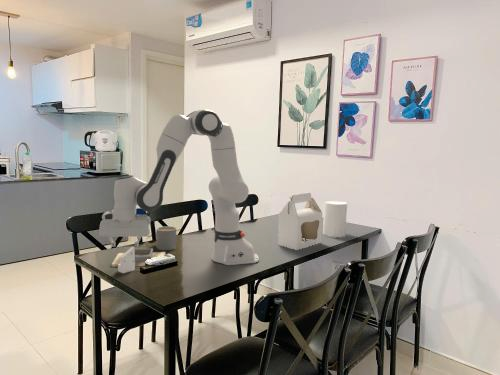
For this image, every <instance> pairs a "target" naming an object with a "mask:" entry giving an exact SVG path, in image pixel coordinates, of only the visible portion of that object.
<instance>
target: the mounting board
mask: <svg viewBox="0 0 500 375" xmlns="http://www.w3.org/2000/svg"><path fill="white" fill-rule="evenodd" d="M124 253H125V252H118V253H117V254H116V256H115V258H114V259H113V261H112V263H111V267H112V268H116V267H117V268H118V264H120V257H121V256H122V255H123V254H124ZM162 255H165V256H166V251H155V252H154V251H153V255H152V258H153V257H158V256H162ZM135 256H149V254H137V255H135ZM135 267H146V266H145V262H135Z"/></svg>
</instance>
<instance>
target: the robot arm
mask: <svg viewBox="0 0 500 375" xmlns="http://www.w3.org/2000/svg"><path fill="white" fill-rule="evenodd" d="M192 135H198V136H207V137H208V139H209V142H210V150H211V159H212V160H211V161H212V167H213V168H214V170H215V172H216V174H217V176H216V177H213V178H212V179H211V180H210V182H209V183H208V191H209V193H210V195H211V198H212V203H213V208H214V214H215V220H214V221H215V222H214V224H215V228H214V232H213V241H214V245H213V251H212V255H211V260H212V261H213V262H215V263H219V264H223V265H225V266H237V265H246V264H255V263H256V262H257V263H258V262H259V261H260V257H259V255H258V254H257V253H255V249H254V246H253V245H252V243H250V242H249V241H248V240H247V239H246V238H245V236H246V234H245V232H243V231H242V230H241V229H240V213H239V211H238V209H237V206H236V204H240V203H243V202H245V201H246V200H247V198H248V196H249V191H250V190H249V187H248V185H247V184H246V183H245V180H244V179H243V177H242V174H241V171H240V167H239V164H238V158H237V151H236V142H235V137H234V133H233V130H232V127H231V125H229V124H228V123H224V122H222V121H221V119H220V117H219V116H218V114H217V113H216V112H215V111H213V110H211V109H199V110H194V111H192V112H191V113H189V114H187V115H186V116H185V115H183V114H175V115H172V117H171V118H170V119H169V120H168V122H167V123H166V125H165V127H164V128H163V129H162V132H161V135H160V136H159V139H158V141H157V145H156V156H157V161H156V165H155V166H154V169H153V171H152V175H151V177H150V178H149V181H148V182H146V181H143V180H141V179H139V178H138V177H136V176H135V175H130V174H129V175H123V176H119V177H117V179H116V180H115V181H114V187H113V199H114V205H113V209H112V210H108V211H105V212H103V214H102V215H101V219H102V220H100V224H99V230H98V234H99V236H100V237H107V239H108V241H109V242H110V247H111V248H112V247H116V241H114V239H113V237H118V238H119V237H121V238H122V237H131V238H132V237H133V238H134V237H136V238H137V241H134V247H136V248H137V247H139V243H140V242H141V240H142V238H143V237H144V238H145V237H146V238H147V237H149V235H151V234H150V233H151V229H150V225H151V223H152V222H151V221H152V220H151V217H150V216H149V215H148V214H141V213H139V214H138V213H137V206H138V207H139V208H140V209H141V210H142V211H144V212H149V213H150V212H154V211H156V210H158V209H159V208H160V207H161V206H162V204H163V199H164V190H165V187H166V184H167V181H168V180H169V176H170V174H171V172H172V170H173V167H174V166H175V164H176V162H178V159H179V157H180V156H181V154H182V153H183V151H184V149H185V147H186V145H187V143H188V140H189V139H190V137H191V136H192Z"/></svg>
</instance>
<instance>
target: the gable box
mask: <svg viewBox="0 0 500 375" xmlns="http://www.w3.org/2000/svg"><path fill="white" fill-rule="evenodd" d="M289 199H290V200H289V201H287V203H286V204H285V206H284V207H283V208H282V209H281V211H280V212H279V213H278V230H277V245H278V246H280V247H283V246H284V247H283V248H286V247H287V249H290V250H293V249H294V251H299V249H300V250H303V249H306V248H309V246H310V247H312V245H313V246H315V244H316V245H319V244H321V243H322V242H321V240H322V228H323V223H322V222H323V212H322V210H321V209H320V207H319V205H318V203H317V202H316V200H315V199H314V197H312V193H311V192H308V193H302V194H301V193H299V194H294V195H292V196H290V197H289ZM301 203H305V205H304V208H301V209H296V204H301ZM302 238H305V241H304V240H303V239H302ZM301 239H302V240H301ZM306 239H309V240H306ZM318 243H319V244H318ZM302 248H303V249H302Z"/></svg>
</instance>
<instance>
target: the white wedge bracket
mask: <svg viewBox="0 0 500 375" xmlns="http://www.w3.org/2000/svg"><path fill="white" fill-rule="evenodd" d="M135 249H136V248H135V246H131V247H130V248H128V250H126V252H123V253H124V254H123V255H122V256H121V257H120V264H118V267H117V271H118V272H119V273H121V274H125V273H129V272H133V271H135V270H136V266H135Z"/></svg>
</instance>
